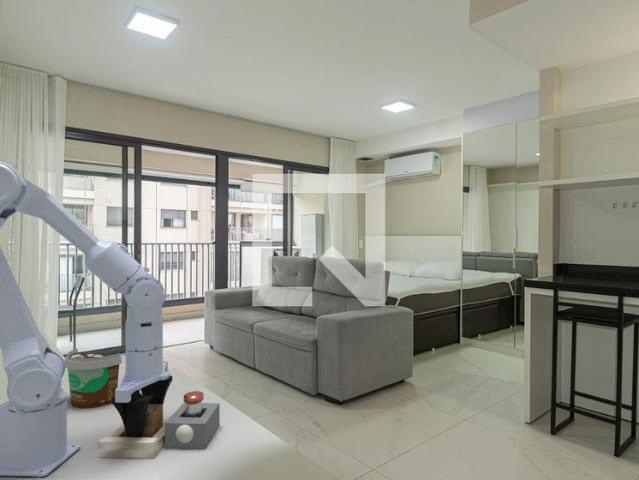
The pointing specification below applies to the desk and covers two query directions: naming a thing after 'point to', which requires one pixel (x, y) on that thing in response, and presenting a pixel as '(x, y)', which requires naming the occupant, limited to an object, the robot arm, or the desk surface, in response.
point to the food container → (92, 378)
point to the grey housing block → (192, 427)
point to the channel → (131, 445)
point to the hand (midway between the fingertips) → (144, 428)
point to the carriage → (152, 420)
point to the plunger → (194, 403)
